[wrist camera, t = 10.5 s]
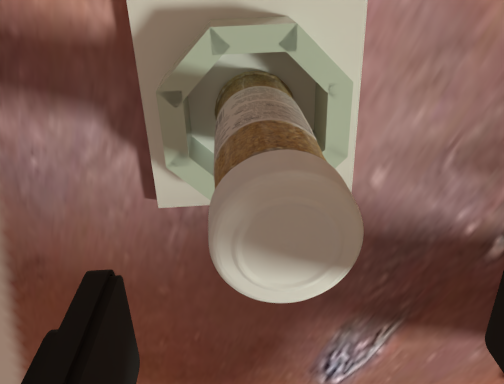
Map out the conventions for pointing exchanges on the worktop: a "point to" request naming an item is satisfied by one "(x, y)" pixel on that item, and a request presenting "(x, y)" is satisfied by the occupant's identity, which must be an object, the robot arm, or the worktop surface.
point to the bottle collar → (234, 63)
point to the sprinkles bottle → (276, 197)
